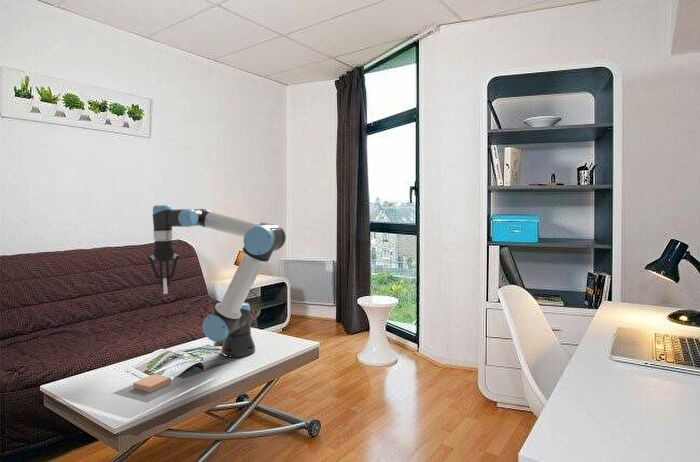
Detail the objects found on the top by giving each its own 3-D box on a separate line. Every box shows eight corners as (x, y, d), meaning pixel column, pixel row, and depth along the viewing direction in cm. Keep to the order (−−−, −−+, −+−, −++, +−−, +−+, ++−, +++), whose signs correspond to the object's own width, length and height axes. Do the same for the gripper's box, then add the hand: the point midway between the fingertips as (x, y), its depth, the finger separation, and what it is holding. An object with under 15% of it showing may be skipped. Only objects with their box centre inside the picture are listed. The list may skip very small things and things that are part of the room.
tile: (133, 382, 156) (149, 386, 152) (154, 374, 164) (170, 377, 160) (133, 388, 156) (150, 393, 152) (154, 379, 164) (171, 383, 160)
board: (112, 395, 153) (112, 393, 153) (159, 375, 171) (159, 373, 171) (147, 405, 145) (146, 402, 145) (192, 383, 163) (192, 380, 163)
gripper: (179, 239, 194) (181, 290, 195) (147, 240, 189) (149, 293, 190) (179, 240, 187) (181, 293, 188) (146, 241, 182) (148, 296, 183)
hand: (165, 293), depth 189 cm, fingers closed
